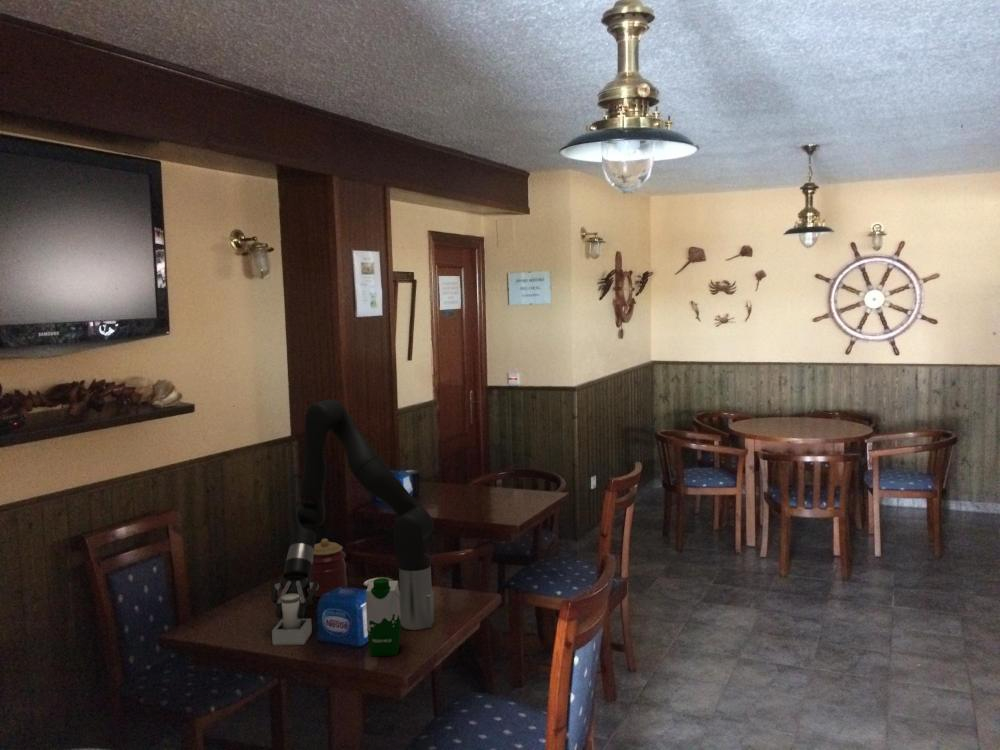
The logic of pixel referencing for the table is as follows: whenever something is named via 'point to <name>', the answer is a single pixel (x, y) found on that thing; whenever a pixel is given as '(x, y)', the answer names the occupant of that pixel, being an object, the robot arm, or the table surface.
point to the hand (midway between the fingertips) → (289, 618)
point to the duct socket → (292, 633)
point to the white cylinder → (290, 611)
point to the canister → (328, 566)
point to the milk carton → (383, 617)
